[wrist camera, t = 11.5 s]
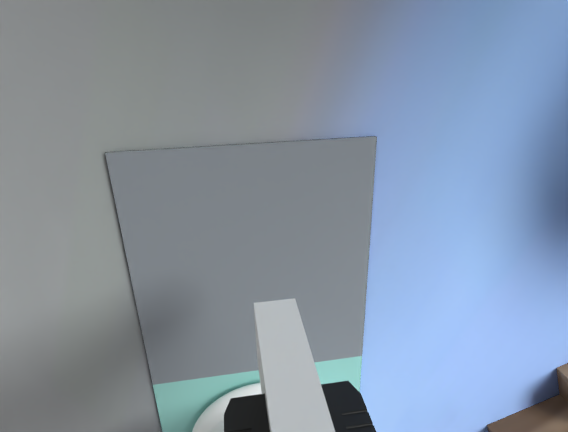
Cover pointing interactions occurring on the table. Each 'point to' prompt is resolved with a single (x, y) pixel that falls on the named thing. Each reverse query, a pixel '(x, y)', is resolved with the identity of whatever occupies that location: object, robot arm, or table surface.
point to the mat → (243, 258)
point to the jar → (222, 409)
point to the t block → (540, 412)
